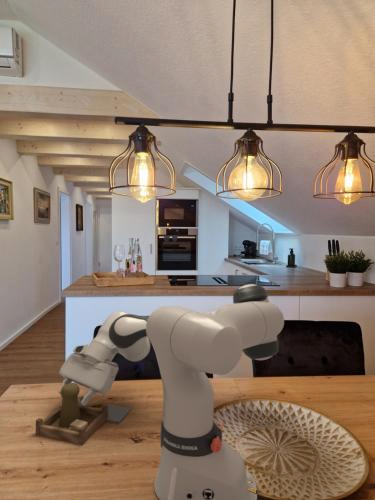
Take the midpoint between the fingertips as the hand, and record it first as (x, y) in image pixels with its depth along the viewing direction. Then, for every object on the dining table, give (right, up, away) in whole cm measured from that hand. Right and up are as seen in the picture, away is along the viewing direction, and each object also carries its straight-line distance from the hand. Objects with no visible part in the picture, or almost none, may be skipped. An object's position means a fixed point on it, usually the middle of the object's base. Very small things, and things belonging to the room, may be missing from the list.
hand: (71, 399), depth 96 cm
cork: (0, -7, 0) cm, 7 cm away
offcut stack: (+4, -7, -7) cm, 11 cm away
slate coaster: (+11, -7, +4) cm, 14 cm away
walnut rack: (+1, -7, -2) cm, 7 cm away
